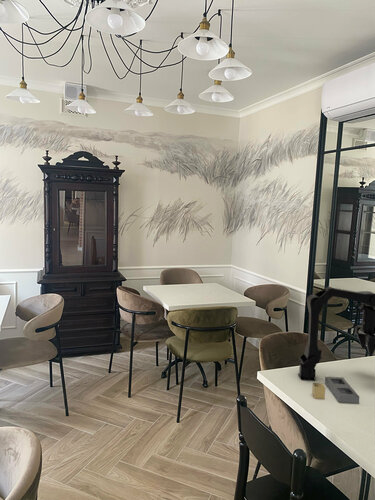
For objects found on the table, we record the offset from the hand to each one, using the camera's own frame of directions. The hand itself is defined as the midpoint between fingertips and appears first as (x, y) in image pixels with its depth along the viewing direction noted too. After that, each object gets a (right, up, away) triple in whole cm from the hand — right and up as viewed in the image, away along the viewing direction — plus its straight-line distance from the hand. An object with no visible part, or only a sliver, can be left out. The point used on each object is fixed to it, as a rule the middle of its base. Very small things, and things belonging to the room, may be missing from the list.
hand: (366, 352), depth 165 cm
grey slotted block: (-17, -15, -11) cm, 25 cm away
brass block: (-28, -15, -15) cm, 35 cm away
